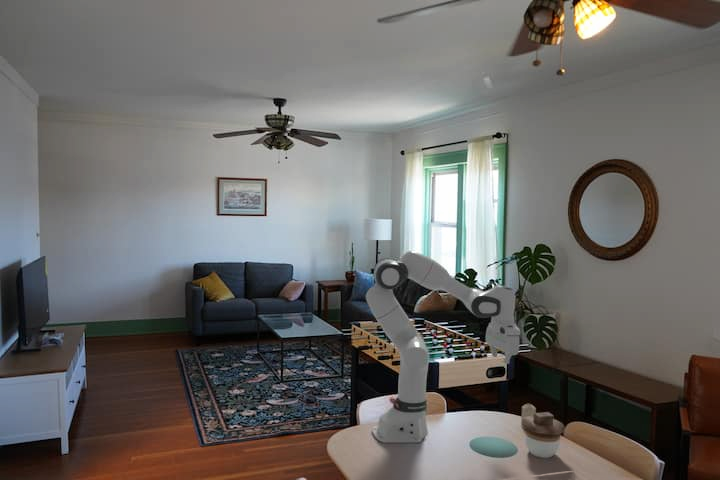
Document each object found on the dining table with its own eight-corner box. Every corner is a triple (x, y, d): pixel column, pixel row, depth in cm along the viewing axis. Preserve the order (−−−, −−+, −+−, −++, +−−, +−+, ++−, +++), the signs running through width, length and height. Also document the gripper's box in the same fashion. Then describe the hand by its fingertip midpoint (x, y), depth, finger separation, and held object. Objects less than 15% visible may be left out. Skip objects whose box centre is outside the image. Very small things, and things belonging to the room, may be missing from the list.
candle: (535, 431, 230) (536, 407, 229) (521, 429, 231) (522, 406, 231) (534, 426, 236) (535, 402, 235) (520, 424, 237) (521, 401, 236)
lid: (536, 436, 199) (537, 424, 199) (514, 419, 213) (514, 408, 213) (573, 433, 203) (573, 421, 203) (548, 416, 217) (549, 405, 217)
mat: (483, 461, 202) (483, 459, 202) (461, 440, 220) (461, 438, 220) (527, 456, 207) (527, 454, 207) (502, 436, 225) (502, 434, 224)
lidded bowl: (559, 465, 201) (561, 435, 200) (523, 459, 205) (524, 430, 204) (558, 450, 213) (560, 422, 212) (524, 445, 217) (525, 417, 216)
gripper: (482, 320, 232) (480, 352, 233) (508, 332, 213) (506, 367, 214) (496, 319, 234) (494, 352, 235) (523, 331, 214) (520, 367, 216)
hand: (500, 359), depth 224 cm, fingers open, 8 cm apart
